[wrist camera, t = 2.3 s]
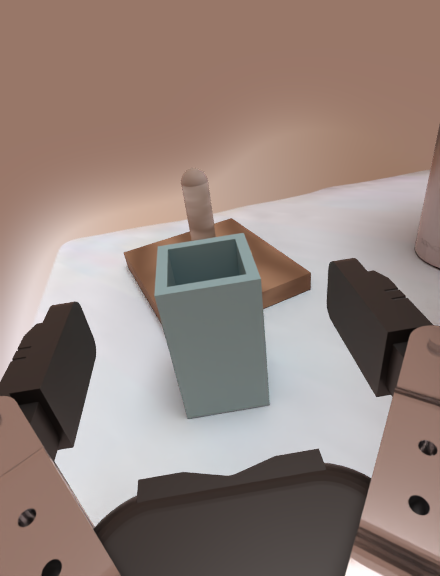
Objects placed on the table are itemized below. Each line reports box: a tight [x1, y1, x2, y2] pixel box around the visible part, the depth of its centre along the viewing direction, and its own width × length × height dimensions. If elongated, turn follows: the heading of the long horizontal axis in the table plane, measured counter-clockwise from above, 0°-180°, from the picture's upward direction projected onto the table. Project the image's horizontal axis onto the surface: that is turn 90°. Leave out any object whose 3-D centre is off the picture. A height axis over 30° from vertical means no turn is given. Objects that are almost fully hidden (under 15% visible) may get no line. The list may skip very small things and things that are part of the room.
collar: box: [154, 233, 270, 419], centre depth 26 cm, size 6×6×11 cm
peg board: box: [124, 168, 311, 324], centre depth 38 cm, size 15×17×12 cm
